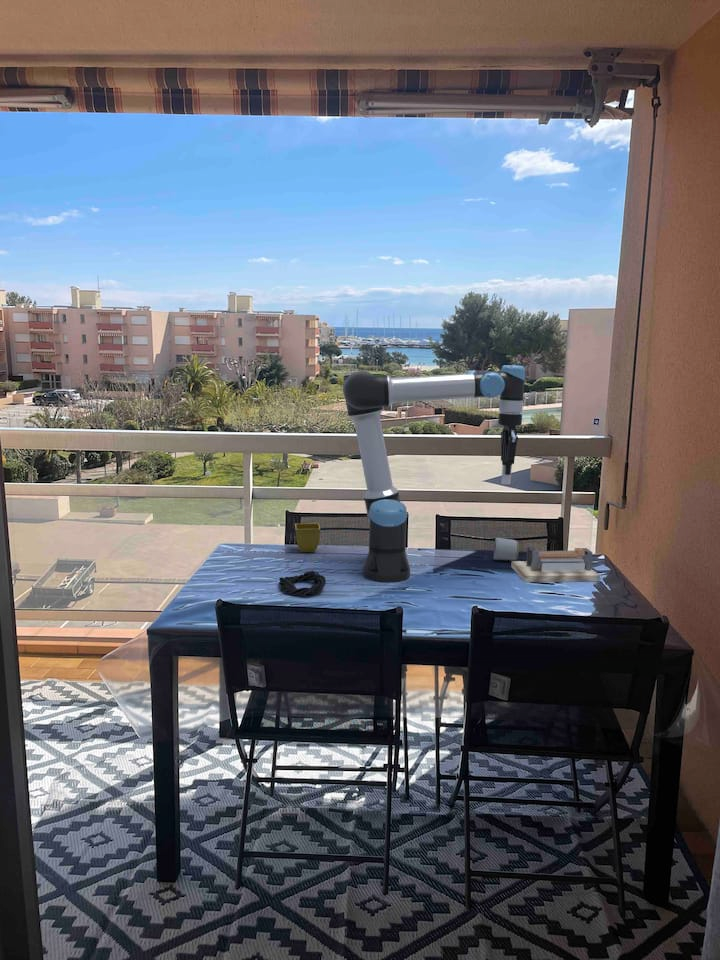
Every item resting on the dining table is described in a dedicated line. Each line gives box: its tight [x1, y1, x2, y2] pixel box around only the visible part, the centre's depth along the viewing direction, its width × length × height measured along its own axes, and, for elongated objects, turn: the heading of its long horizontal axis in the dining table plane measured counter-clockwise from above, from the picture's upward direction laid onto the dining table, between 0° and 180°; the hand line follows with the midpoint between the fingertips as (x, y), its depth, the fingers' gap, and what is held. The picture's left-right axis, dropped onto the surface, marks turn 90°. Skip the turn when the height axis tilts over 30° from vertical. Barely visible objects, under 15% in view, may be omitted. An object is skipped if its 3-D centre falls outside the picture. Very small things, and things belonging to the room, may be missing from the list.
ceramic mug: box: [493, 537, 520, 562], centre depth 261 cm, size 11×8×8 cm
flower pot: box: [294, 522, 321, 553], centre depth 266 cm, size 9×9×9 cm
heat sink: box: [525, 545, 593, 573], centre depth 244 cm, size 20×11×6 cm, turn 94°
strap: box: [530, 547, 585, 557], centre depth 243 cm, size 17×4×2 cm, turn 95°
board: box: [510, 560, 601, 583], centre depth 245 cm, size 24×16×2 cm, turn 95°
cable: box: [278, 570, 327, 598], centre depth 225 cm, size 17×14×4 cm
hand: (505, 483), depth 250 cm, fingers closed
